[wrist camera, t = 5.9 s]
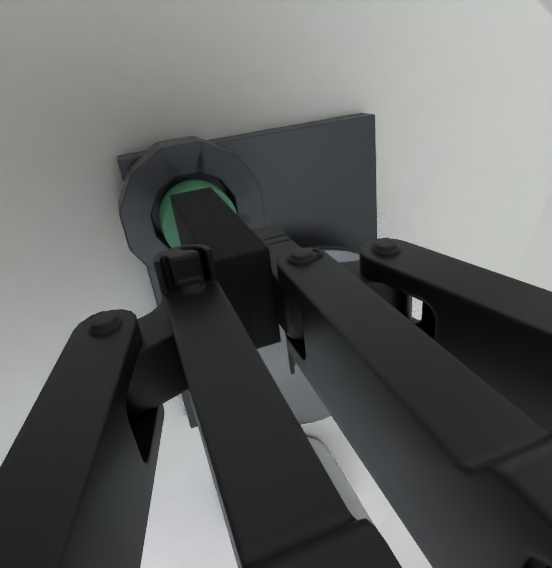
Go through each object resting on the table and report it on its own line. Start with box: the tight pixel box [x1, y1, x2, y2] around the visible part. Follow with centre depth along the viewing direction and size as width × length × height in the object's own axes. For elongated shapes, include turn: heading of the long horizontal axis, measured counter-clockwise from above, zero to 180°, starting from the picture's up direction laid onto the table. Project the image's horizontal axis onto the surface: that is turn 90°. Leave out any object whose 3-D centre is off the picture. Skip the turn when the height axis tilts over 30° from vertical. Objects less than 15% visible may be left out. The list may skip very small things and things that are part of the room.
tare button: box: [159, 179, 237, 248], centre depth 18 cm, size 3×3×2 cm
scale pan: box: [257, 245, 359, 424], centre depth 23 cm, size 10×10×1 cm
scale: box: [117, 113, 377, 428], centre depth 23 cm, size 16×12×3 cm
